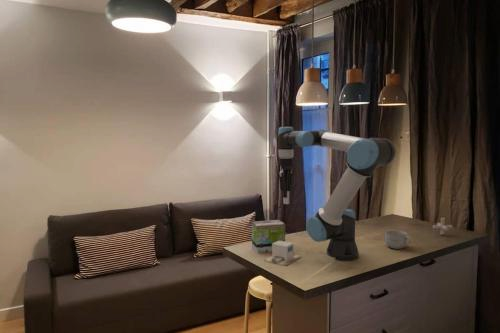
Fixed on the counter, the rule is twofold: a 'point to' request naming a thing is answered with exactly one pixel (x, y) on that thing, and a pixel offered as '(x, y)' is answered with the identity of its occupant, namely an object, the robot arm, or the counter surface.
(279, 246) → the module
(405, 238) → the teacup
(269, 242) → the tea box
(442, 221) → the pipe connector
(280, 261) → the rail board
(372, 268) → the counter surface
